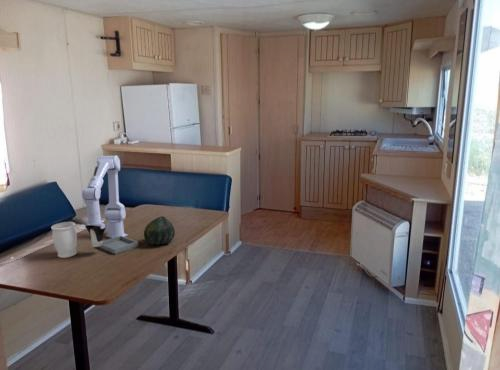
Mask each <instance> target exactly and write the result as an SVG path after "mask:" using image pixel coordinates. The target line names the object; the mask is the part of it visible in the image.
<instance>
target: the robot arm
mask: <svg viewBox="0 0 500 370" xmlns="http://www.w3.org/2000/svg"><path fill="white" fill-rule="evenodd" d="M96 159H97V161H96V164H97V169H96V172H95V175H94V176H92V177H91V178H90V180H89V183H88V185H87V187H85V188H84V189H83V190H82V193H81V194H82V199H83V202H84V204H85V206H86V213H87V215H86V216H87V218H86V219H85V220H84V221H85V226H84V227H85V228H86V230H87V231H88V233H89V236H90V237H91V234H90V229H92V228H93V230H94V232H95V234H96V238H97V241H98V242H100V241H102V240H103V241H104V239H103V238H104V234H105V231H106V234H105V237H107V238H109V239H112V238H115V237H118V236H124V237H127V236H129V235H128V233H125V230H124V229H125V228H124V220H125V219H126V215H127V214H126V213H127V211H126V209H125V205H124V204H123V203H121V202H120V195H119V193H120V192H119V191H120V190H119V175H118V174H119V172H120V171H121V160H120V158H119V156H118V155H98V157H97V158H96ZM106 173H107V181H108V183H107V185H108V203H107V204H106V205H105V207H104V213H103V216H104V219H105V220H106V223H104V222H103V221H102V218H101V216H102V215H101V208H100V198H101V192H102V190H101V189H102V187H103V184H104V179H103V178H104V177H105V175H106ZM95 227H96V228H95Z"/></svg>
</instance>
